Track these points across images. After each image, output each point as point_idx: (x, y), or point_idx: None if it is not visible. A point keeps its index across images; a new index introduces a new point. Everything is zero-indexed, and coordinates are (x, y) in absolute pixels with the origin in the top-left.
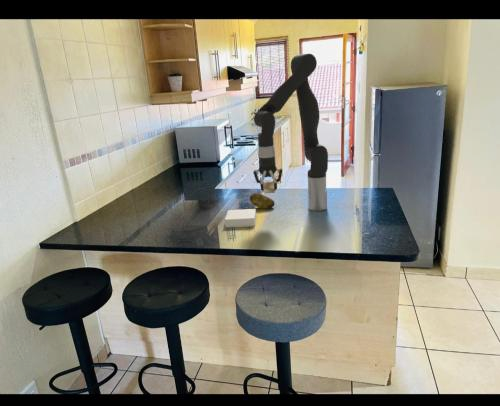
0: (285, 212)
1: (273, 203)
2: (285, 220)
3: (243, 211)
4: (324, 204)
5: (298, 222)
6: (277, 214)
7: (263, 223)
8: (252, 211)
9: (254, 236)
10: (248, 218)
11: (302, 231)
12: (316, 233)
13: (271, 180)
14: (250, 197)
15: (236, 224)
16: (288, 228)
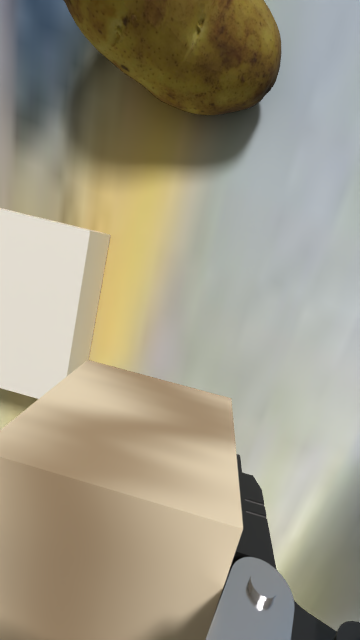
0: (313, 232)
1: (265, 91)
2: (265, 370)
3: (1, 254)
4: None
5: (326, 427)
6: (249, 251)
7: (134, 366)
8: (62, 279)
9: None
10: (28, 395)
11: (298, 536)
12: (352, 580)
13: (164, 564)
14: None
15: None
16: None
